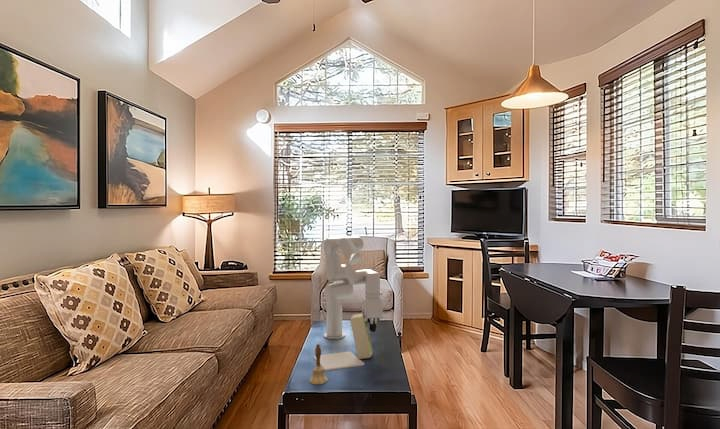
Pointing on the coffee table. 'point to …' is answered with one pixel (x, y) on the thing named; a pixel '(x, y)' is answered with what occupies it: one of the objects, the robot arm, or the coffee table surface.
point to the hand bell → (318, 369)
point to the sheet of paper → (339, 361)
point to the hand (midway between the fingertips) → (372, 331)
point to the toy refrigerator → (361, 336)
